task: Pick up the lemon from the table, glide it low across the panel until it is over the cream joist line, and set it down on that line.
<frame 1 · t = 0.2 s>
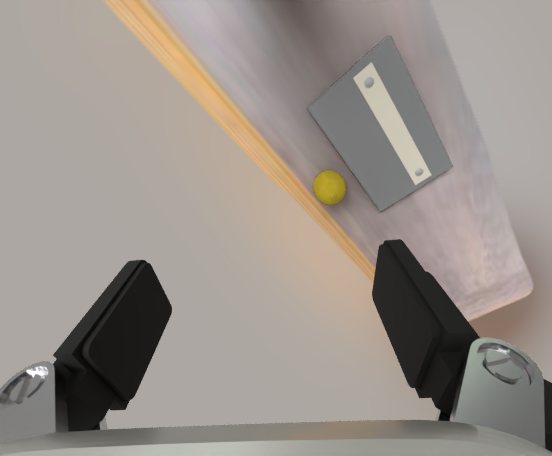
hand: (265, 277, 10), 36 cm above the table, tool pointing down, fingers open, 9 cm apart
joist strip: (396, 131, 40), resting on panel
panel: (381, 137, 42), on the table
lemon: (325, 178, 46), on the table
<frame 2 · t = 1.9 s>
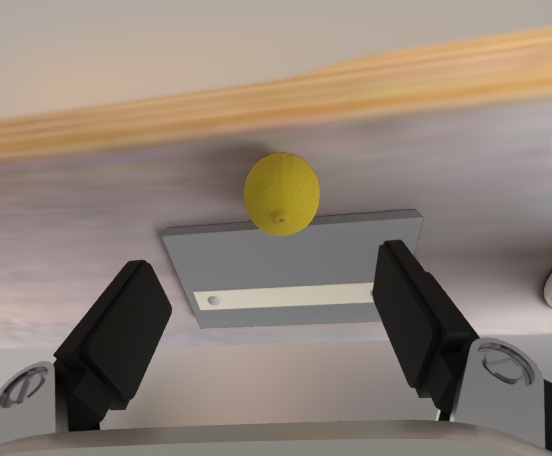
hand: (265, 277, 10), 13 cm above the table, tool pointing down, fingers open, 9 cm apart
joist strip: (293, 296, 27), resting on panel
panel: (291, 273, 27), on the table
lemon: (282, 173, 21), on the table
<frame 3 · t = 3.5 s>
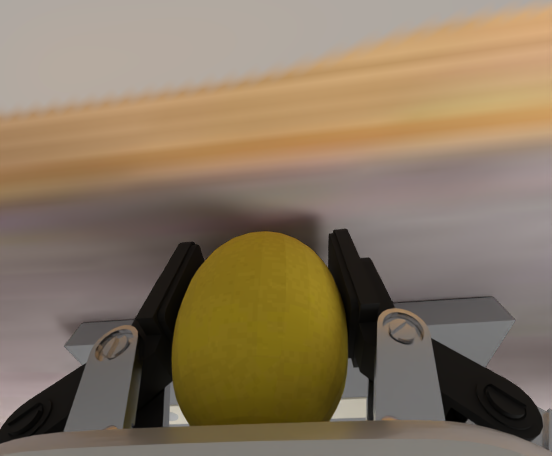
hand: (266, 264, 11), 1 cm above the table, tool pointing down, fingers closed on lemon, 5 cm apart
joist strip: (289, 409, 18), resting on panel
panel: (286, 373, 18), on the table
lemon: (267, 246, 12), on the table, touching gripper
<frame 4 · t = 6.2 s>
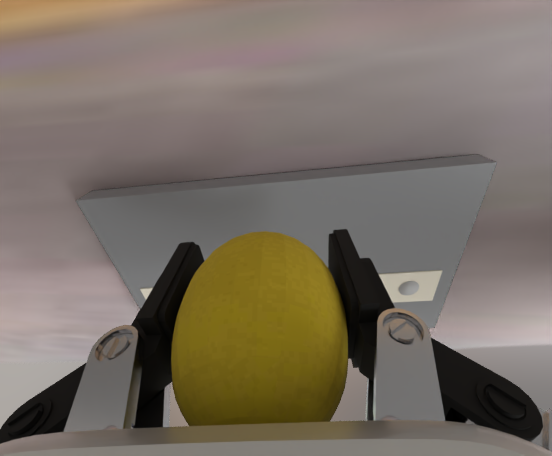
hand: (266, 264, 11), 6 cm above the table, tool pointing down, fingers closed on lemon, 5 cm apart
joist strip: (285, 293, 19), resting on panel
panel: (283, 260, 19), on the table
lemon: (267, 246, 12), point 5 cm above the table, touching gripper
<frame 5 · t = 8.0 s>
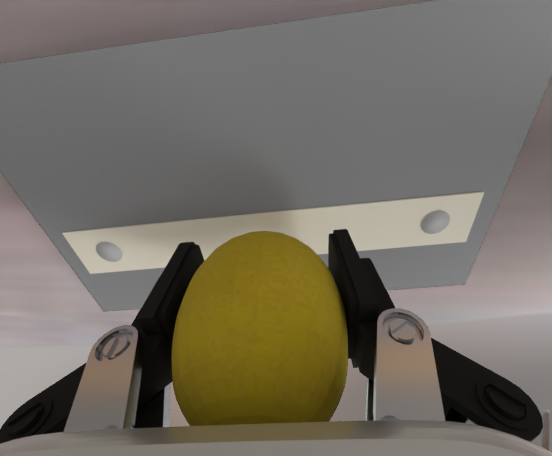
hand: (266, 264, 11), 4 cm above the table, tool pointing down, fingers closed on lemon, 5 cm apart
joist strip: (265, 236, 14), resting on panel
panel: (262, 192, 14), on the table
lemon: (267, 246, 12), point 3 cm above the table, touching gripper
when the fingers open (4 cm above the table, at t = 9.3 s): lemon stays where it is, resting on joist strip.
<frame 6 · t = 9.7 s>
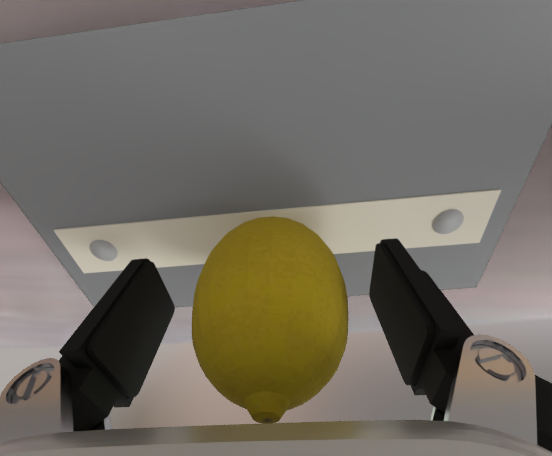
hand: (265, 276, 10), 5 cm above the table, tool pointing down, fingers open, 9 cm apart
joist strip: (268, 235, 13), resting on panel
panel: (264, 188, 13), on the table
lemon: (274, 234, 13), point 1 cm above the table, touching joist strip
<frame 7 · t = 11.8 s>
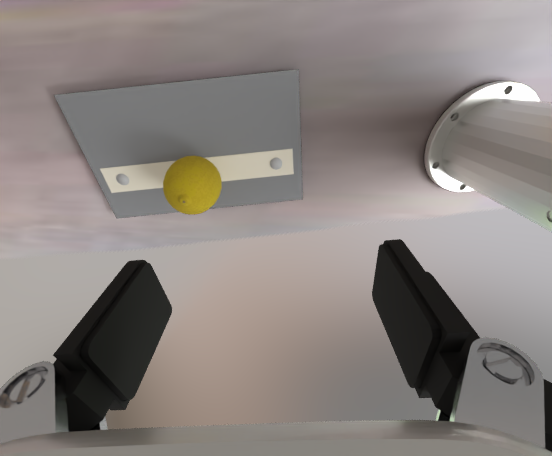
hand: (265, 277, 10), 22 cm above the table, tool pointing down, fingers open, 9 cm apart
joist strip: (199, 171, 29), resting on panel
panel: (197, 150, 29), on the table
lemon: (202, 170, 29), point 1 cm above the table, touching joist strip
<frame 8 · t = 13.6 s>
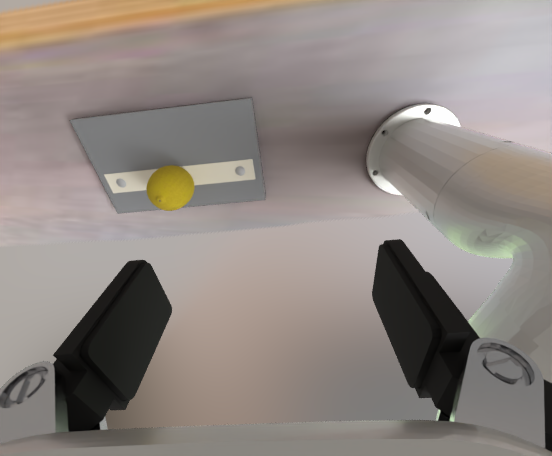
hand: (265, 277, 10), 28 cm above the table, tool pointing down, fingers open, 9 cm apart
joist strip: (180, 176, 36), resting on panel
panel: (179, 160, 36), on the table
lemon: (182, 176, 36), point 1 cm above the table, touching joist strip
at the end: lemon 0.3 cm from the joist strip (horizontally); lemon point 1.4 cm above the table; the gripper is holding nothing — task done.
